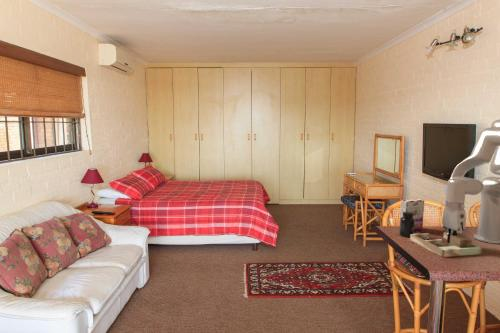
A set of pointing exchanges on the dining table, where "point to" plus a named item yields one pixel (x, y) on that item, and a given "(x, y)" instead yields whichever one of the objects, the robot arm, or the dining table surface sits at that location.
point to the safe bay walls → (466, 249)
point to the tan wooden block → (460, 241)
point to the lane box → (434, 245)
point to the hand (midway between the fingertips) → (451, 242)
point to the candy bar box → (414, 210)
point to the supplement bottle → (407, 224)
